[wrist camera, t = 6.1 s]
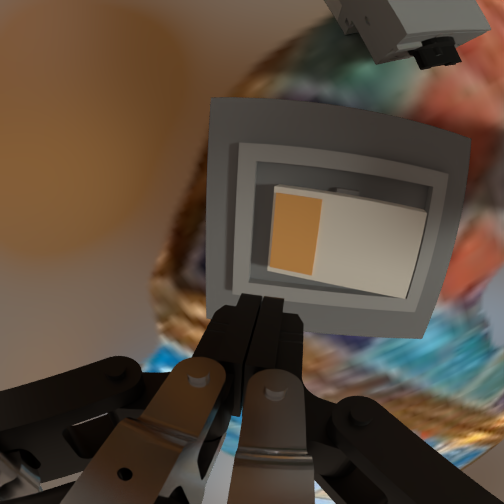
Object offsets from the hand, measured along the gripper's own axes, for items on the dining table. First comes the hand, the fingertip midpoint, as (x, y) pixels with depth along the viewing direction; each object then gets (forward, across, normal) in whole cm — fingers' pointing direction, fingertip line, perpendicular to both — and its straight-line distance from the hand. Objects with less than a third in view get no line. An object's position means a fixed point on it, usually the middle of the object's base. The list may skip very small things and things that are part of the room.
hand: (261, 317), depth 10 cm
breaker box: (+18, -4, 0) cm, 18 cm away
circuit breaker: (+18, -7, -20) cm, 28 cm away
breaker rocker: (+10, -4, 0) cm, 11 cm away
